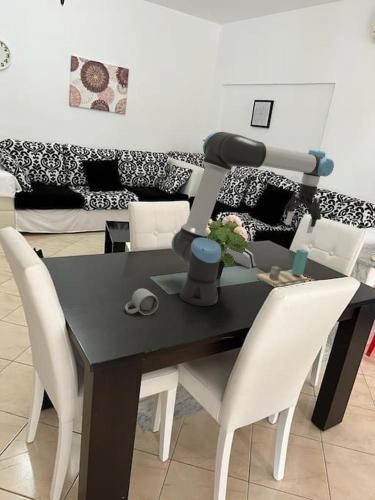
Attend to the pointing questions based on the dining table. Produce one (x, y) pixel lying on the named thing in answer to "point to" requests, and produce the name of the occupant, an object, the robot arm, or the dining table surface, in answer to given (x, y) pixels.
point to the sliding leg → (299, 262)
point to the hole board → (282, 277)
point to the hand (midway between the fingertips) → (298, 228)
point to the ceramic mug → (143, 302)
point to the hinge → (243, 257)
